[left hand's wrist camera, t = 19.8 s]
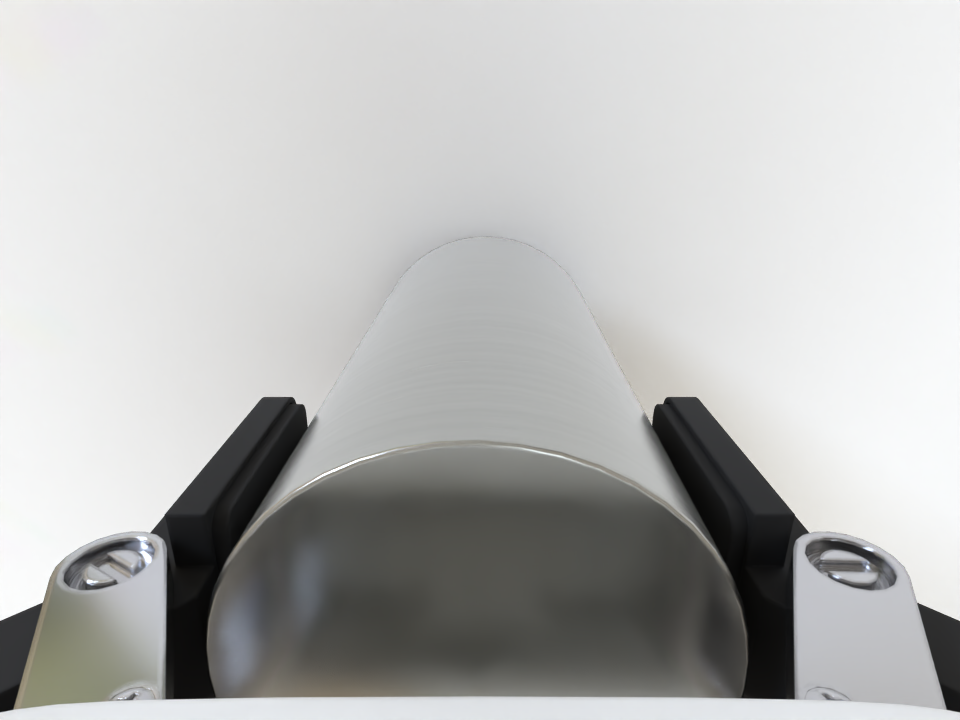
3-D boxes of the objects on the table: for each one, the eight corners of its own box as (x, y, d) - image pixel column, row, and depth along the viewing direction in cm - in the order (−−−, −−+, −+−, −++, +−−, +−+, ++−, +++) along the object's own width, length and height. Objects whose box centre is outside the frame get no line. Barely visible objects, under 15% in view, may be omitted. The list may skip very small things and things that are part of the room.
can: (448, 464, 21) (389, 904, 9) (341, 301, 19) (85, 593, 7) (624, 379, 19) (827, 761, 8) (530, 194, 17) (608, 331, 6)
